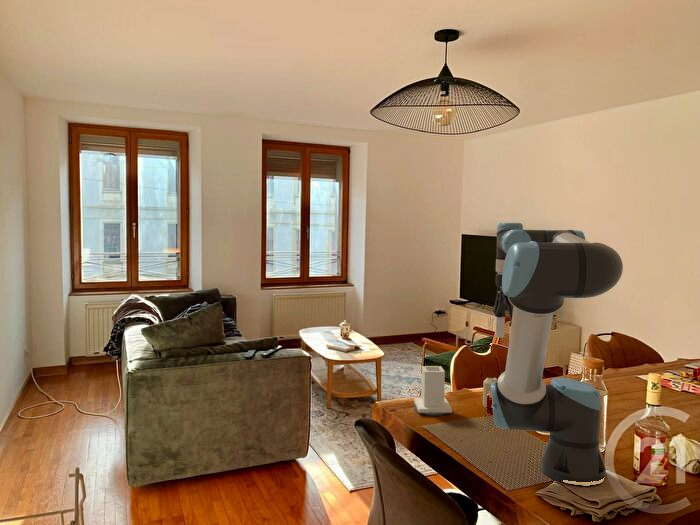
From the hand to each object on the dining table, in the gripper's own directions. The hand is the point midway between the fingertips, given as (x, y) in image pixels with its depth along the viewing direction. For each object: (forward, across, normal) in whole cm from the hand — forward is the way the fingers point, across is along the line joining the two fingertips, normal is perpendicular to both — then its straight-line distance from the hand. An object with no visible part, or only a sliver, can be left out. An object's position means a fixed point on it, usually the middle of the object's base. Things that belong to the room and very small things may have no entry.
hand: (506, 342), depth 162 cm
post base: (+27, +15, +20) cm, 36 cm away
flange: (+26, +15, +20) cm, 36 cm away
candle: (+27, +18, -1) cm, 32 cm away
